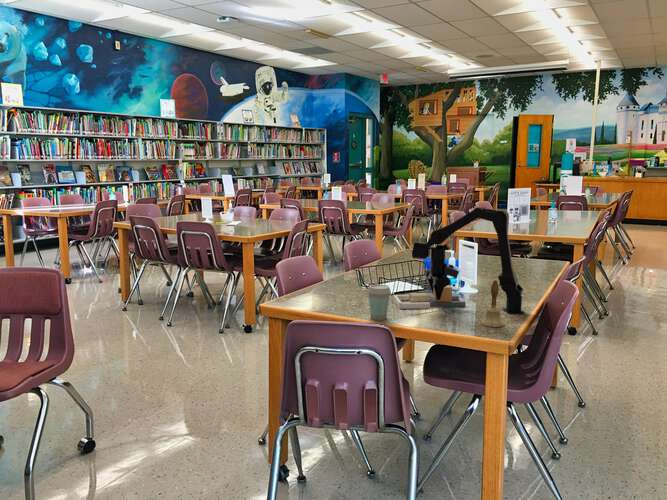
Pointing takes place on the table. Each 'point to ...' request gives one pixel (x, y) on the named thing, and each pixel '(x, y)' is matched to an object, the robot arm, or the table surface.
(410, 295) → the tan wooden cube
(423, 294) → the beige cube
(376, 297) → the coffee cup
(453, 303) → the slot rails
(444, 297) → the tan rectangular block
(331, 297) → the table surface
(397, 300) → the tray
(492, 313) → the hand bell
